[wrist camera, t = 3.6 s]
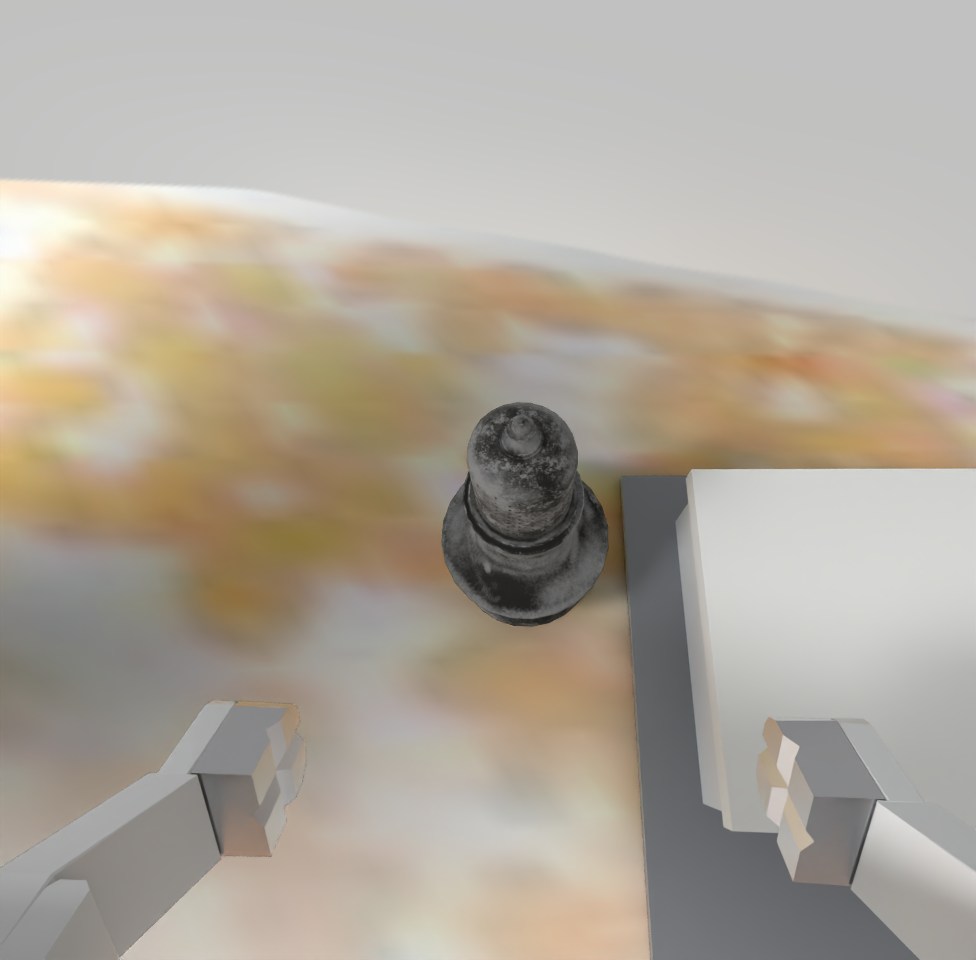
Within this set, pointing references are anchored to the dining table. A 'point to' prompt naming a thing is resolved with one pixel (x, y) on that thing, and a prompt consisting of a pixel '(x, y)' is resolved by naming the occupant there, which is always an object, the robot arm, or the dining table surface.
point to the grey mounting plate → (789, 680)
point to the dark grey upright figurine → (524, 519)
